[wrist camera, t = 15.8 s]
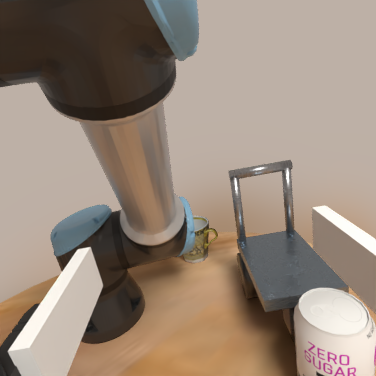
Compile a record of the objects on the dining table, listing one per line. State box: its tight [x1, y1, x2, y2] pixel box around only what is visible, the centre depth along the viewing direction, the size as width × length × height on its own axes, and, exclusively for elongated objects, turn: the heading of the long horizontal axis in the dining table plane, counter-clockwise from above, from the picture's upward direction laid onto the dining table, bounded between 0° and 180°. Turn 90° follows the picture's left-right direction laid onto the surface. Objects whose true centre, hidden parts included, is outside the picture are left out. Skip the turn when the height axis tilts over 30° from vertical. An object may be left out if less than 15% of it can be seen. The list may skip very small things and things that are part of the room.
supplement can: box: [294, 288, 376, 376], centre depth 31 cm, size 8×8×15 cm
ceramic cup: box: [183, 216, 218, 263], centre depth 69 cm, size 13×10×10 cm
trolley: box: [229, 160, 349, 346], centre depth 45 cm, size 22×12×26 cm, turn 2°
